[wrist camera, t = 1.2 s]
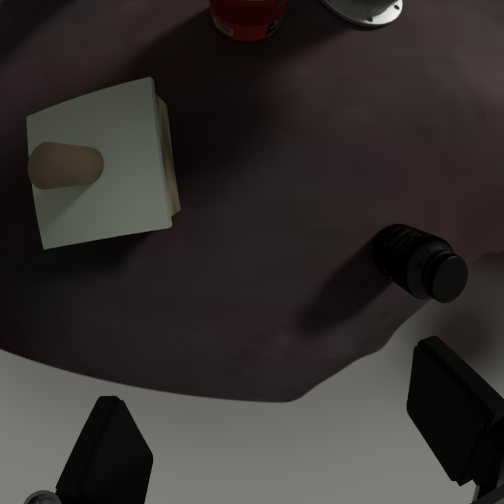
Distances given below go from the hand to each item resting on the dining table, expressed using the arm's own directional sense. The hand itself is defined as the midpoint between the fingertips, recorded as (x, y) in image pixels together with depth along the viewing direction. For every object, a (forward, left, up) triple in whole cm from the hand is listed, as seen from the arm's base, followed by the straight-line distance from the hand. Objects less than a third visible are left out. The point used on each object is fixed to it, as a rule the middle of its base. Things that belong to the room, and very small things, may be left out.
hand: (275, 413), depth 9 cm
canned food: (-26, +3, -28) cm, 38 cm away
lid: (-10, -13, -20) cm, 25 cm away
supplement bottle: (+4, +18, -28) cm, 34 cm away
